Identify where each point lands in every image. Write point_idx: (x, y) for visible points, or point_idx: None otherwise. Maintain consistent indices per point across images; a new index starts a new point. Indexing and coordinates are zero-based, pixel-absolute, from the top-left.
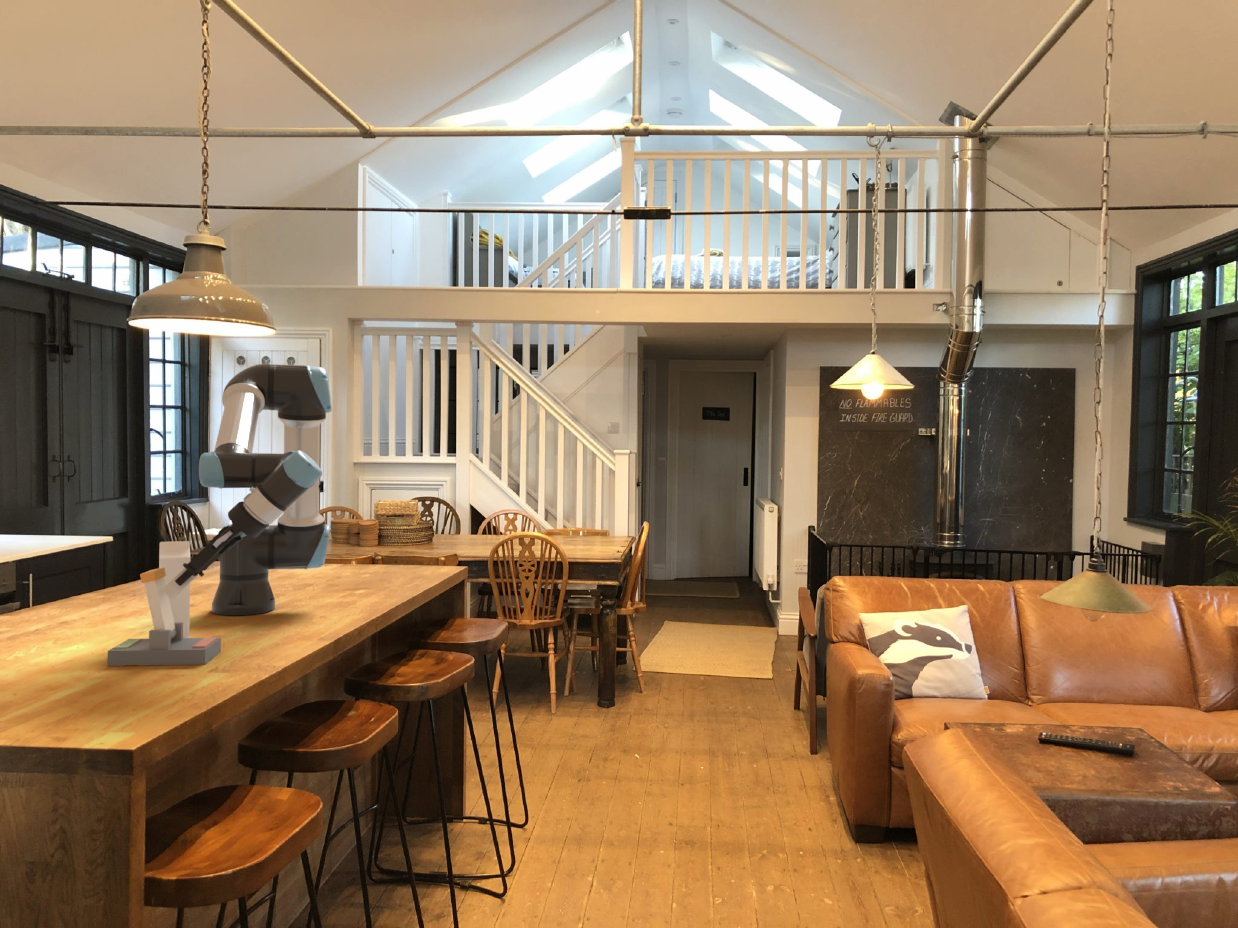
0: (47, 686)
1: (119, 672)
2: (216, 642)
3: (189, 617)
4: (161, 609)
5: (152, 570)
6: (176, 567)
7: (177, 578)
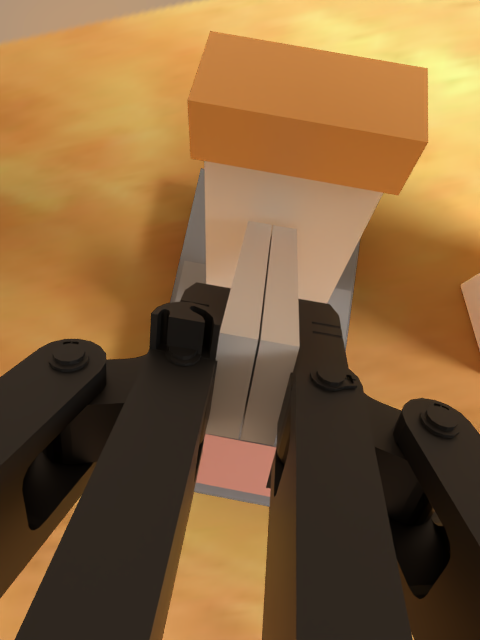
0: (28, 102)
1: (118, 236)
2: (264, 504)
3: None
4: (212, 270)
5: (339, 82)
6: None
7: (182, 296)
